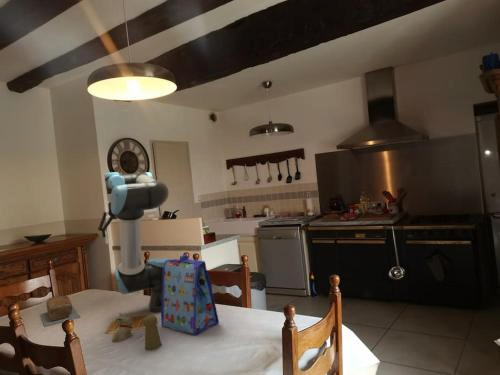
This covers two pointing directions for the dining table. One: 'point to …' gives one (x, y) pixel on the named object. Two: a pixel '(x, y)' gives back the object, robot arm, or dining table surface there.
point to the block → (59, 307)
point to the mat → (49, 322)
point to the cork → (151, 333)
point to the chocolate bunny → (122, 328)
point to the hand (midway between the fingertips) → (120, 241)
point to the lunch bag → (187, 296)
